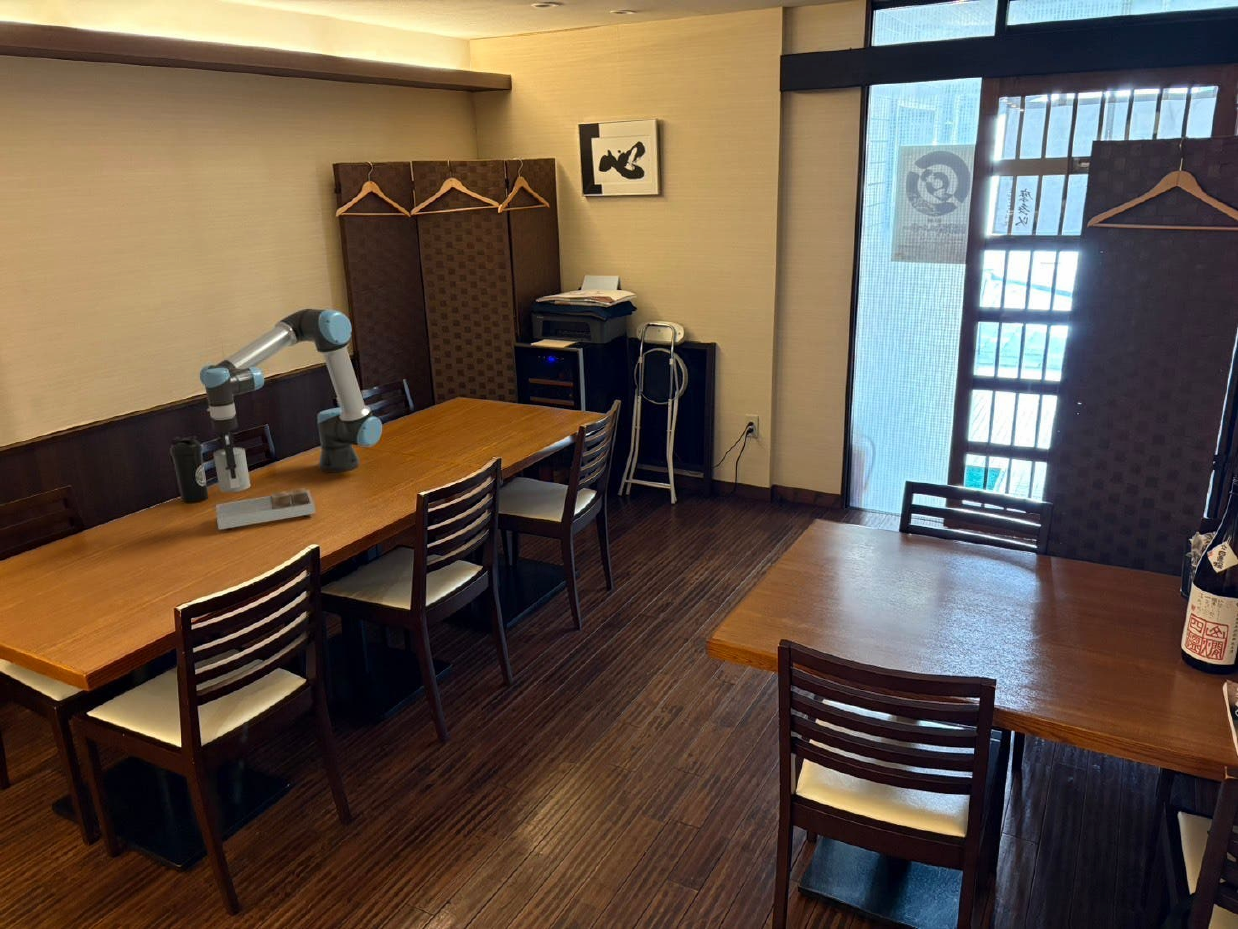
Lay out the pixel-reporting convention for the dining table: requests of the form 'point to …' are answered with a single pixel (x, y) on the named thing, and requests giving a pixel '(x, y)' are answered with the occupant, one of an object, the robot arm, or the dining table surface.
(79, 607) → the dining table surface
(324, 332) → the robot arm
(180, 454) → the water bottle
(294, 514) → the tray
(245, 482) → the grey cylinder
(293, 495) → the walnut block
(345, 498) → the dining table surface
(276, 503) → the walnut block
